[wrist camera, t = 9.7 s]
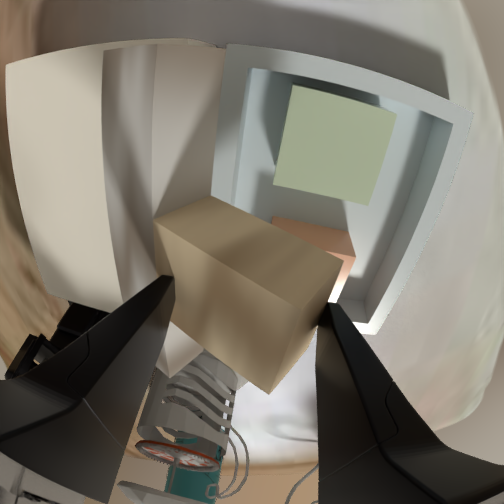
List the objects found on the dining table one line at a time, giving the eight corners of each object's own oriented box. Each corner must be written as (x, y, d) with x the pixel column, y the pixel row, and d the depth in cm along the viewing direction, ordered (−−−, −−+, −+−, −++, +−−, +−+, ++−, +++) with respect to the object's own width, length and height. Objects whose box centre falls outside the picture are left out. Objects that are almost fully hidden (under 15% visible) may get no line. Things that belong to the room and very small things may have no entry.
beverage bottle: (171, 410, 35) (137, 544, 19) (212, 408, 33) (182, 559, 16) (199, 429, 38) (174, 550, 22) (239, 427, 36) (218, 560, 19)
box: (369, 308, 21) (375, 334, 19) (211, 283, 21) (203, 309, 19) (450, 103, 12) (473, 112, 10) (236, 46, 12) (226, 43, 10)
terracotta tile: (254, 304, 17) (258, 276, 19) (328, 316, 17) (325, 289, 19) (270, 239, 15) (272, 215, 17) (356, 257, 15) (348, 231, 17)
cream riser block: (197, 280, 21) (179, 330, 17) (77, 255, 21) (47, 293, 17) (216, 45, 12) (188, 38, 8) (58, 55, 12) (5, 64, 8)
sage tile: (272, 184, 13) (275, 166, 15) (368, 205, 13) (357, 185, 15) (292, 85, 11) (291, 82, 13) (397, 114, 11) (380, 106, 13)
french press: (180, 321, 24) (97, 619, 3) (285, 379, 27) (259, 627, 7) (137, 361, 28) (69, 574, 8) (225, 406, 32) (191, 599, 12)
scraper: (165, 320, 17) (279, 405, 13) (133, 343, 15) (249, 441, 12) (164, 48, 9) (398, 80, 5) (103, 50, 7) (369, 62, 4)
